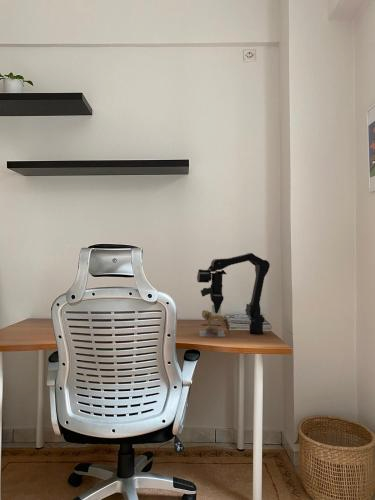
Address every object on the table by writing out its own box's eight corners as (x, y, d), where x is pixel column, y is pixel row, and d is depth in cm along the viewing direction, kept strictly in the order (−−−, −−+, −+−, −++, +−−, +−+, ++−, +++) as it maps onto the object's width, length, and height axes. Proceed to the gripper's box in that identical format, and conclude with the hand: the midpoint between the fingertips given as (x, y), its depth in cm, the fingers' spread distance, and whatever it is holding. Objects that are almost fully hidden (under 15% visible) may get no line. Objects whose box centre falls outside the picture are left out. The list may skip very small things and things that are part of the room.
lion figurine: (201, 325, 226) (201, 310, 226) (202, 324, 232) (202, 309, 232) (226, 326, 225) (226, 311, 225) (226, 324, 230) (226, 309, 230)
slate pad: (223, 331, 208) (223, 330, 208) (225, 337, 194) (225, 336, 194) (199, 331, 208) (199, 330, 208) (199, 336, 194) (199, 336, 194)
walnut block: (217, 332, 204) (217, 326, 204) (217, 334, 198) (217, 328, 198) (206, 332, 204) (206, 326, 204) (206, 334, 198) (206, 328, 198)
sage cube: (220, 313, 203) (220, 305, 203) (220, 315, 199) (220, 306, 199) (211, 313, 203) (211, 305, 204) (211, 314, 199) (212, 306, 199)
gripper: (201, 281, 211) (200, 309, 211) (201, 283, 192) (200, 314, 192) (221, 281, 211) (220, 310, 210) (223, 284, 192) (223, 315, 192)
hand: (216, 312), depth 201 cm, fingers closed on sage cube, 4 cm apart
